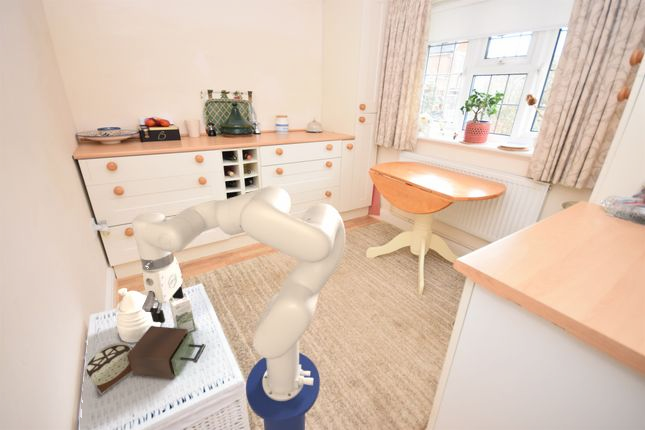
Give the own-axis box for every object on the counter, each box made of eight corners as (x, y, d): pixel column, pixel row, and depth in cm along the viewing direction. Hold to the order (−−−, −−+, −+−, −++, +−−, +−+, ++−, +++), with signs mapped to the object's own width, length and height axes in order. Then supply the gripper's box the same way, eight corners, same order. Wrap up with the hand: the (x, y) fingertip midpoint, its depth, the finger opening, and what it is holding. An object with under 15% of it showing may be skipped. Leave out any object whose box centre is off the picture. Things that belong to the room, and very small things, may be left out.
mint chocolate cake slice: (128, 357, 95) (120, 335, 91) (139, 366, 92) (131, 343, 88) (84, 387, 85) (74, 364, 81) (95, 399, 82) (84, 374, 78)
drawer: (210, 349, 98) (207, 334, 95) (195, 377, 88) (192, 362, 86) (162, 344, 99) (158, 329, 96) (142, 372, 90) (137, 356, 87)
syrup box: (191, 320, 111) (185, 290, 105) (196, 330, 106) (190, 298, 100) (174, 327, 107) (167, 296, 101) (179, 337, 103) (172, 305, 97)
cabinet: (191, 347, 99) (187, 329, 96) (172, 379, 89) (167, 359, 85) (156, 344, 100) (150, 325, 97) (133, 375, 89) (126, 355, 86)
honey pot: (118, 347, 98) (103, 306, 91) (121, 322, 109) (108, 283, 101) (161, 334, 104) (150, 294, 97) (160, 311, 114) (150, 273, 107)
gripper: (151, 279, 68) (164, 333, 75) (187, 243, 84) (196, 290, 91) (120, 277, 69) (136, 331, 76) (162, 241, 84) (172, 288, 91)
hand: (169, 309), depth 83 cm, fingers open, 9 cm apart
